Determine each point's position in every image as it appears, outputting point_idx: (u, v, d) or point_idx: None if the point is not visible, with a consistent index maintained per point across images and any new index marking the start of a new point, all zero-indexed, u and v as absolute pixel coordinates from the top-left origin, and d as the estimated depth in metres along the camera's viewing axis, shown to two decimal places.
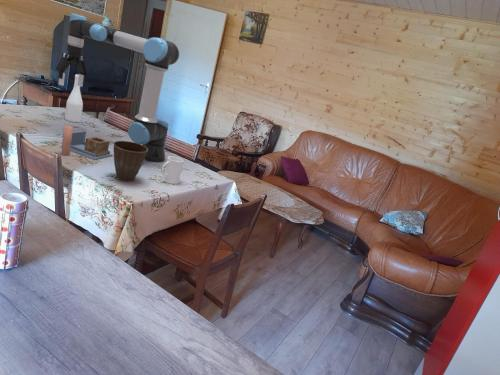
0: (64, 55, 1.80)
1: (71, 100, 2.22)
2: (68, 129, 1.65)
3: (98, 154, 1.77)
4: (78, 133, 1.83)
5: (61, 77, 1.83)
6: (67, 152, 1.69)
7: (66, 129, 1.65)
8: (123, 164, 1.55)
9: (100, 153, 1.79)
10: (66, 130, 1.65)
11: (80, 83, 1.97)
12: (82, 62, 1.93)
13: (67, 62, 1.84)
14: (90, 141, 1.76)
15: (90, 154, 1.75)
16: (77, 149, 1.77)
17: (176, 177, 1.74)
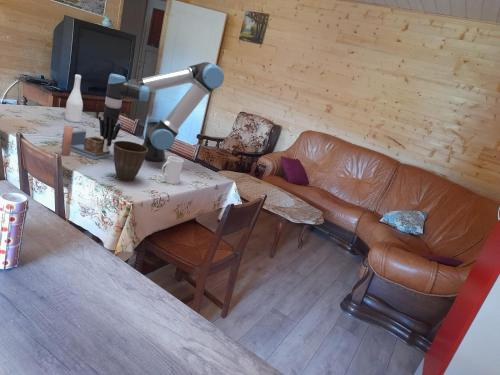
0: None
1: (71, 100, 2.22)
2: (68, 129, 1.65)
3: (97, 154, 1.77)
4: (78, 133, 1.83)
5: (103, 143, 1.78)
6: (67, 152, 1.69)
7: (66, 129, 1.65)
8: (123, 164, 1.55)
9: (100, 153, 1.79)
10: (66, 130, 1.65)
11: None
12: None
13: None
14: (89, 141, 1.76)
15: (90, 154, 1.75)
16: (77, 149, 1.77)
17: (176, 177, 1.74)
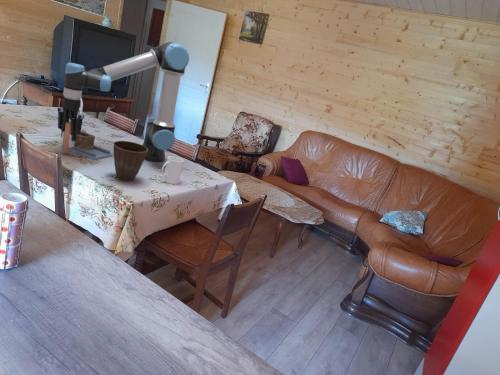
0: None
1: None
2: (69, 125, 1.65)
3: (83, 148, 1.79)
4: None
5: None
6: (69, 148, 1.69)
7: (67, 125, 1.65)
8: (123, 164, 1.55)
9: (86, 147, 1.81)
10: (67, 126, 1.65)
11: None
12: None
13: None
14: None
15: (90, 154, 1.75)
16: (77, 149, 1.77)
17: (176, 177, 1.74)
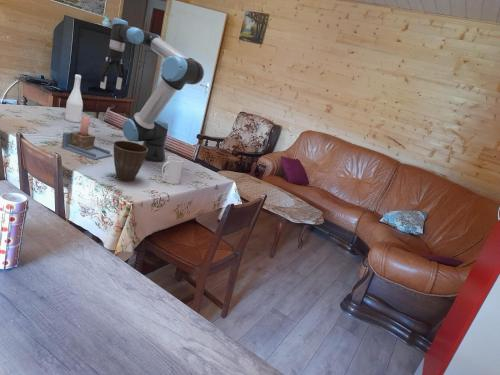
0: (107, 59, 1.84)
1: (71, 100, 2.22)
2: (89, 119, 1.79)
3: (83, 148, 1.79)
4: None
5: (103, 80, 1.86)
6: None
7: (89, 120, 1.79)
8: (123, 164, 1.55)
9: (86, 147, 1.81)
10: (88, 121, 1.79)
11: (118, 86, 2.00)
12: (121, 65, 1.97)
13: (109, 66, 1.87)
14: (75, 135, 1.78)
15: (90, 154, 1.75)
16: (77, 149, 1.77)
17: (176, 177, 1.74)
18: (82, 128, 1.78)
